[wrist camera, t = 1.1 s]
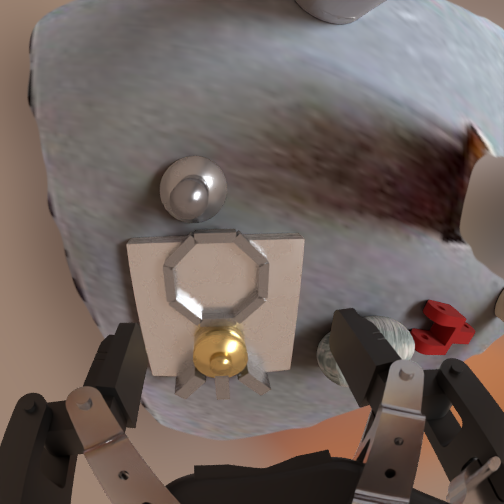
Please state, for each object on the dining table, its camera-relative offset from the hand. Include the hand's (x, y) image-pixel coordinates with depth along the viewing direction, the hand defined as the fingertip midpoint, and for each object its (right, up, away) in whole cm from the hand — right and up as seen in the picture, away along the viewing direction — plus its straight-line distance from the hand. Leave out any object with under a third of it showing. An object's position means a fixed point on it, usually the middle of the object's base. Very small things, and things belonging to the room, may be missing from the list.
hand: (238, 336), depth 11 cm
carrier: (-3, -3, +22) cm, 22 cm away
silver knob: (-5, +10, +17) cm, 20 cm away
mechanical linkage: (+33, -9, +30) cm, 45 cm away
